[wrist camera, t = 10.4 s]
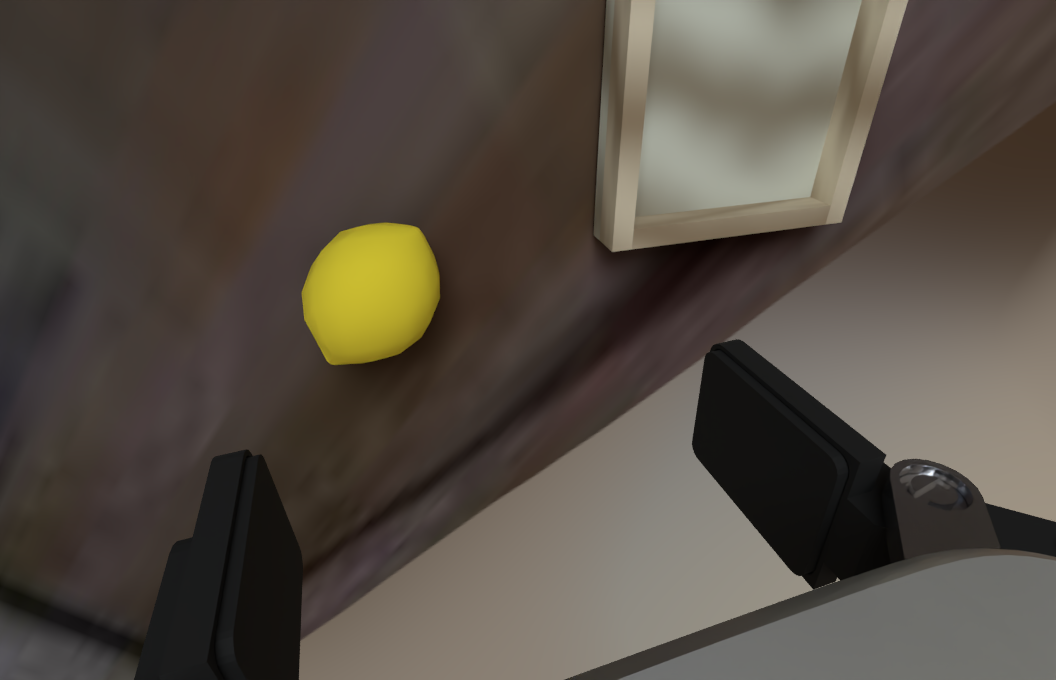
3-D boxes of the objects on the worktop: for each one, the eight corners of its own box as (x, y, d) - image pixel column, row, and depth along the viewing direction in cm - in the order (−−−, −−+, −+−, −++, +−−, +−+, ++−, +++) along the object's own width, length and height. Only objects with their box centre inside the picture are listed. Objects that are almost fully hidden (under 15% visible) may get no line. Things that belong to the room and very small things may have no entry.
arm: (624, -319, 18) (752, -459, 12) (939, -276, 21) (1152, -373, 15) (593, 234, 28) (656, 292, 22) (810, 208, 31) (913, 254, 25)
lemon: (354, 179, 24) (370, 203, 19) (453, 246, 27) (487, 279, 22) (269, 310, 25) (265, 361, 20) (374, 360, 28) (391, 416, 23)
